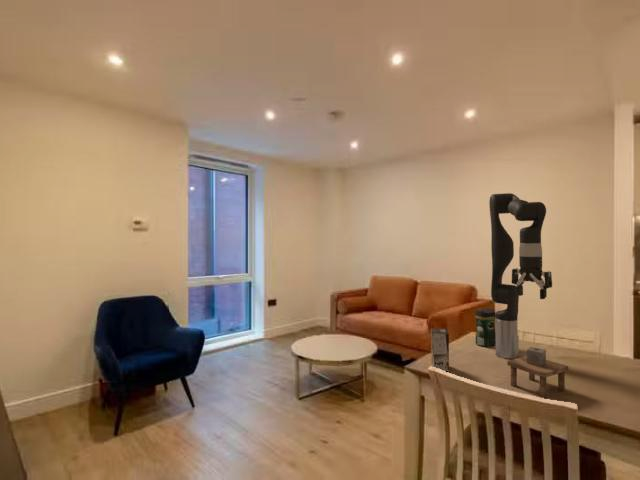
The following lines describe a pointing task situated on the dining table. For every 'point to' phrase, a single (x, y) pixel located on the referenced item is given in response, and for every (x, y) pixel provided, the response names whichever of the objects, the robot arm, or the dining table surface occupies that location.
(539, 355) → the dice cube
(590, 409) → the dining table surface
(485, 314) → the coffee jar
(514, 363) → the footstool
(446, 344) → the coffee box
